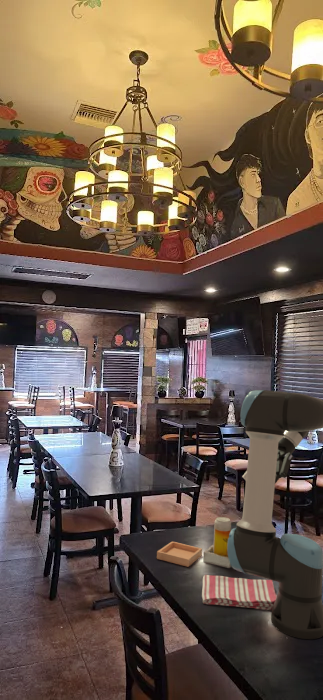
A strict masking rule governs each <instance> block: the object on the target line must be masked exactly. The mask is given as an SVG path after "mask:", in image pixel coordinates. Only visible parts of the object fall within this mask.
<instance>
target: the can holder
mask: <svg viewBox="0 0 323 700" xmlns="http://www.w3.org/2000/svg"><path fill="white" fill-rule="evenodd" d="M202 556H203V558H202V562H203V563H206V564H210V565H214V566H218V567H223V568H226V569H230V568H232V566H231V564H230V562H229V559H228V557H227V556H223V555H219V554H214V553H213V544H211V545H210V546H209V547H208V548H206V550H204V551H203V555H202Z"/></svg>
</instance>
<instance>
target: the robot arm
mask: <svg viewBox="0 0 323 700" xmlns="http://www.w3.org/2000/svg"><path fill="white" fill-rule="evenodd" d="M240 408H241V409H240V423H241V425H242V426H243V427H245V433H246V435H247V436H248V437H249V446H248V458H247V467H246V471H245V472H244V474H243V475H242V478H243V479H244V480H245V487H244V497H243V507H242V508H243V509H242V518H241V519H240V520H239V521H237V522H236V527H234V528H231V531H230V534H229V538H228V545H227V551H228V559H229V562H230V564H231V568H232V569H233V570H236V571H237V572H241V573H243V574H245V575H251V576H255V577H258V578H263V579H264V580H272V581H274V582H277V583H278V592H277V594H276V595H277V597H276V600H275V603H274V605H273V608H272V610H270V621H271V624H272V625H273V627H275V629H277V630H278V631H279V632H281V633H283V634H285V635H287V636H290V637H292V638H295V639H296V638H297V639H303V640H315V639H319V638H323V601H322V600H323V599H322V598H323V597H322V595H323V548H322V547H321V546H320V544H319V543H317V541H315V540H314V539H311V538H309V537H307V536H303V535H301V534H296V533H293V534H292V533H284V534H282V536H281V537H277V529H276V528H275V527H274V525H273V522H272V519H273V510H274V497H275V486H276V484H277V482H278V481H279V480H280V479H281V478H283V479H286V478H287V476H288V472H289V469H290V466H291V462H292V461H293V459H294V456H293V455H292V454H293V453H294V451H295V450H296V448H297V447H298V446H299V444H301V442H302V441H303V440H304V438H305V437H306V436H307V435H308V434H309V432H310V431H315V430H322V429H323V399H322V398H319V397H315V396H311V395H308V394H303V393H298V392H289V391H288V392H286V391H277V390H267V389H266V390H265V389H262V390H261V389H260V390H256V389H255V390H251V391H250V392H248V393H247V394H246V396H245V397H244V400H243V401H242V404H241V407H240Z"/></svg>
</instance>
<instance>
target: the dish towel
mask: <svg viewBox="0 0 323 700" xmlns="http://www.w3.org/2000/svg"><path fill="white" fill-rule="evenodd" d="M277 595H278V594H277V593H276V590H275V585H274V582H273V580H269V579H248V578H242V577H239V578H238V577H229V576H223V575H209V574H204V575H203V577H202V590H201V598H202V603H203V605H204V604H205V605H215V606H216V605H217V606H225V607H227V606H228V607H238V608H249V609H251V608H252V609H255V610H264V611H265V610H266V611H272V608H273V605H274V603H275V600H276V597H277Z"/></svg>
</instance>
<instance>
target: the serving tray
mask: <svg viewBox="0 0 323 700" xmlns="http://www.w3.org/2000/svg"><path fill="white" fill-rule="evenodd" d="M202 556H203V548H202V547H197V546H193V545H188V544H186V543H185V544H184V543H180V542H176V541H171V542H169V543H168V544H166V545H164V546H163V547H162V548H160V549H158V550H157V551H156V559H157V560H161V561H164V562H168V563H173V564H176V565H180V566H184V567H188V568H189V567H190V566H191V565H193V564H194V563H195V562H196V561H197V560H198V559H200V557H202Z"/></svg>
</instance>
